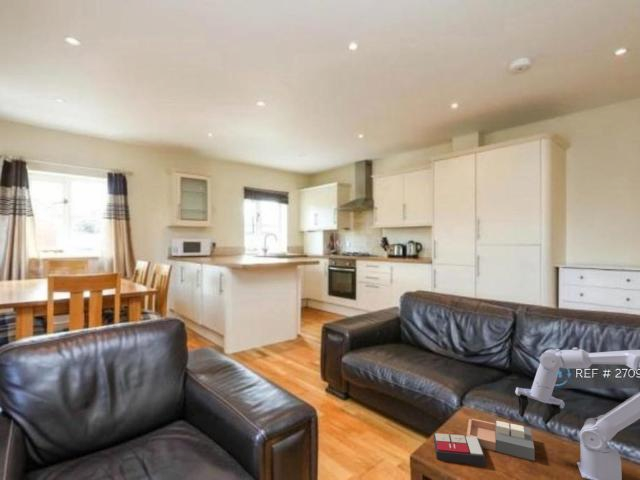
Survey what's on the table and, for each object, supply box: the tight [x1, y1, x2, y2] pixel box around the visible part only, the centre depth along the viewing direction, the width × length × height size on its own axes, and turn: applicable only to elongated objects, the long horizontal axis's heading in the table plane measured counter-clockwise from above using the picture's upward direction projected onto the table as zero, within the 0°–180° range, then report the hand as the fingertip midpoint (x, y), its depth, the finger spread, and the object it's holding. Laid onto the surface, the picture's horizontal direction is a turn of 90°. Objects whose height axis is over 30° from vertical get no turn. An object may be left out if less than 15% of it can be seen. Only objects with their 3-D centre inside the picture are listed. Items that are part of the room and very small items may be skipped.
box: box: [466, 417, 496, 452], centre depth 123 cm, size 9×14×3 cm, turn 152°
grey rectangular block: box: [495, 423, 536, 462], centre depth 118 cm, size 11×14×4 cm
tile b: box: [495, 420, 510, 435], centre depth 119 cm, size 4×4×2 cm
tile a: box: [509, 423, 525, 439], centre depth 117 cm, size 4×4×2 cm
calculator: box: [433, 433, 487, 468], centre depth 113 cm, size 11×4×15 cm
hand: (532, 418), depth 115 cm, fingers open, 7 cm apart
